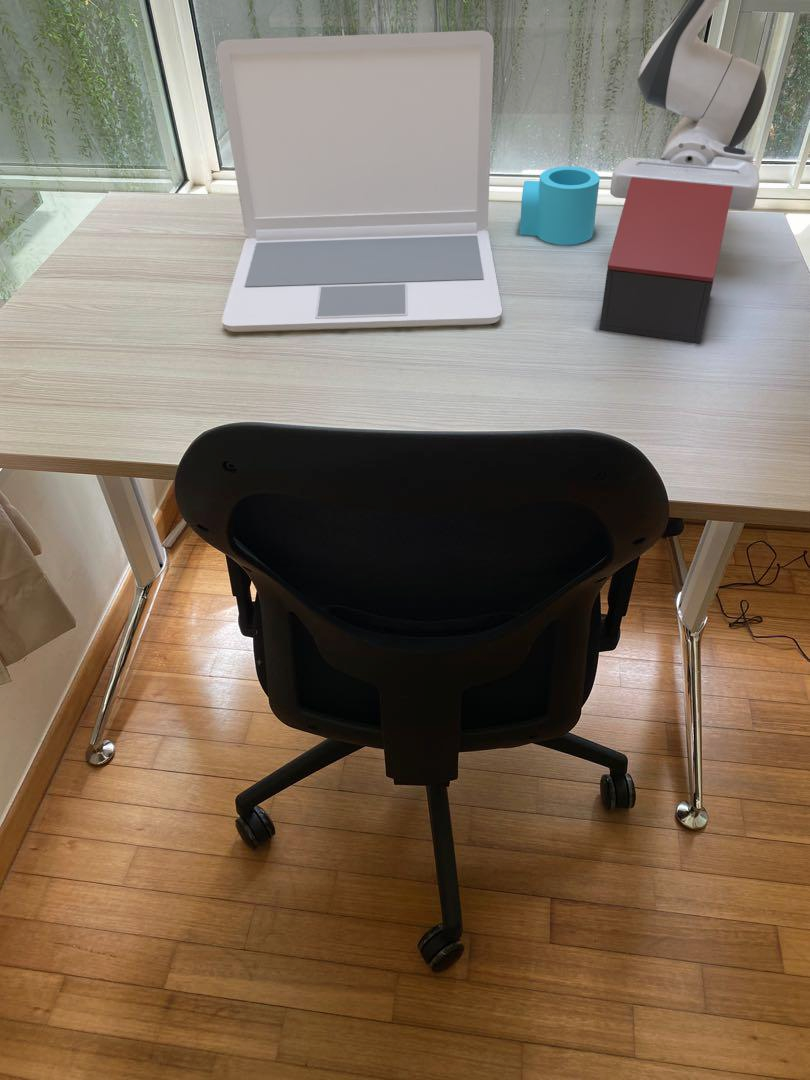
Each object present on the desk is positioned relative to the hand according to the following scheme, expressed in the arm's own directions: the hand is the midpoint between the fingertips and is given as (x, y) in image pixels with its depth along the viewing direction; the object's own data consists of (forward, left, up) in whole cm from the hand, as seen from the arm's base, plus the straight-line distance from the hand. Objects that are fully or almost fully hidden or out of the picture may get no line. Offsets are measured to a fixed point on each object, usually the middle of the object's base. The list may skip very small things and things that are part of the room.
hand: (677, 205), depth 120 cm
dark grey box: (+2, +6, -13) cm, 15 cm away
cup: (+15, -21, -13) cm, 29 cm away
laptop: (+45, -2, -13) cm, 47 cm away
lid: (+1, +5, -1) cm, 5 cm away
